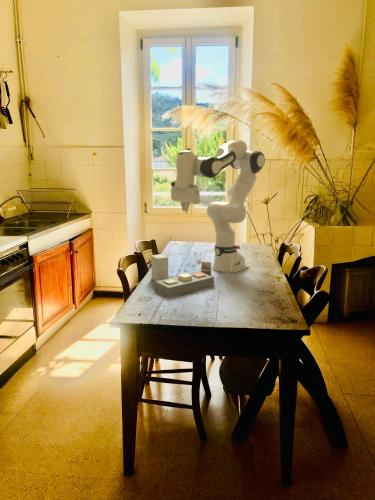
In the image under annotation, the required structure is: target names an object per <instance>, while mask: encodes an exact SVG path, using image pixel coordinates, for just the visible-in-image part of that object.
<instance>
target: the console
mask: <svg viewBox="0 0 375 500" xmlns="http://www.w3.org/2000/svg"><path fill="white" fill-rule="evenodd" d="M197 273H202V272H201V271H197V272H196V271H195V272H191V273H188V274H189V275H191V276H192V280H189V281H185V282H184V281H181V280H179V279H178V276H174V277H168V279H163V280H159V281H155V280H154V290H155V291H156V292H158V291H159V292H158V293H160V294H163V296H166V297H169V298H171V297H175V296H178V295H181V294H185V293H191V292H193V291H197V290H201V289H202V290H203V289H206V288H209V287H214V286H215V276H214V275H213V276H212V275H210V274H208V275H207V274H205V273H202V274H204V275H206V277H202V278H196V277H194V276H193V274H197ZM170 279H173V280H175V281H177V283H176V284H172V285H167V284H165V283H164V282H163V281H165V280H170Z"/></svg>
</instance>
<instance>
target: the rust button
mask: <svg viewBox="0 0 375 500" xmlns="http://www.w3.org/2000/svg"><path fill="white" fill-rule="evenodd" d="M193 276H194V277H196V278H202V277H206V275H204V274H202V273H197V274H193Z"/></svg>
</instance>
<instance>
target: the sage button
mask: <svg viewBox="0 0 375 500" xmlns="http://www.w3.org/2000/svg"><path fill="white" fill-rule="evenodd" d="M163 282H164V283H165V284H167V285H172V284H176V283H177V281H175V280H173V279H170V280H165V281H163Z"/></svg>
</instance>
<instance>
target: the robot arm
mask: <svg viewBox="0 0 375 500" xmlns="http://www.w3.org/2000/svg"><path fill="white" fill-rule="evenodd" d="M216 155H217V157H216V156H215V157H214V156H209V157H199V156H198V155H196V154H195V153H194V152H193V150H181V151H179V152H178V153H177V155H176V156H177V157H176V177H175V178H176V179H175V180H173V181H171V182H170V187H171V189H170V199H171V201H172V202H179V203H180V206H181V210H182V212H188V211H189V207H190V205H191V204H192V205H198V204H200V202H201V197H200V196H201V195H200V190H199V189H200V188H199V186H198V185H197V184H195V177H200V178H210V179H212V178H213V179H214V178H216V177H217V176H218V175H219V174H220V173H221V171H223V170H224V169H226V168H227V167H229V166H230V167H231V168H232V169H235V170H240V171H239V174H238V175H237V177H236V178H235V179H234V181H233V182H232V184H231V185H230V187H229V189H228V192H227V194H228V197H229V200H227V201H213V202H210V203H209V204H208V205H207V209H206V214H207V216H208V217H209V219H210V220H211V221H212V225H213V227H214V231H215V244H214V260H213V265H212V266H211V270H214V271H216V272H223V273H237V272H240V271H243V270H245V269H248V268H250V266H249V264H247V263H246V259H245V256H243V255H242V254H241V253H240V252H238V250H239V249H241V245H238V244H236V243H235V242H236V233H235V230H234V229H233V228H232V227H231V224H239V223H243V222H244V221H245V219H246V216H247V209H246V208H245V202H246V200H247V197H248V196H249V194H250V192H251V190H253V187H254V185H255V183H256V179H257V174H259V172H260V171H261V170H262V169H263V167H264V165H265V162H266V159H265V157H266V156H265V155H264V153H263V152H261V151H258V150H248V145H247V143H246V142H245V141H243V140H242V139H236V140H230V141H228V142H227V143H224V144H222V145H220V146H219V147H218V148H217V151H216ZM230 223H231V224H230ZM235 244H236V245H235ZM237 249H238V250H237Z"/></svg>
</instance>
